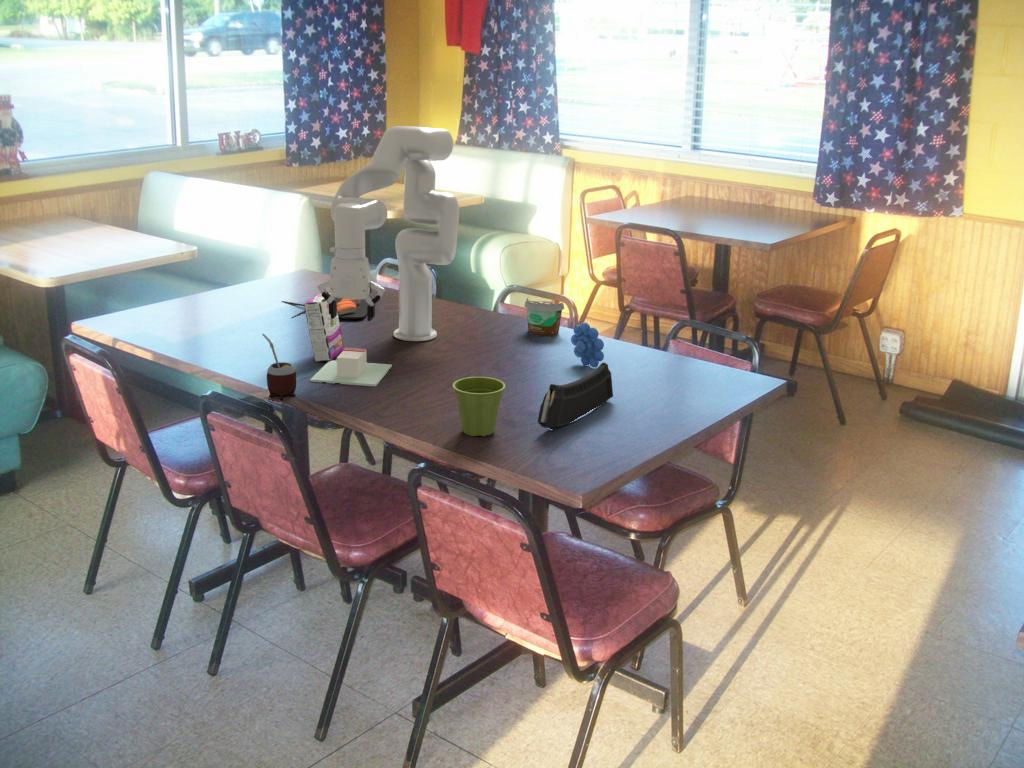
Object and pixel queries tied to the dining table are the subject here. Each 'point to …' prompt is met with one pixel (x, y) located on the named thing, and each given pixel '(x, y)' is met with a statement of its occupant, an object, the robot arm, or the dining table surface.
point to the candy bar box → (323, 329)
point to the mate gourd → (280, 377)
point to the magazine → (575, 398)
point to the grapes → (587, 344)
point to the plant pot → (478, 404)
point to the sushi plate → (346, 308)
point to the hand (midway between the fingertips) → (352, 318)
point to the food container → (543, 317)
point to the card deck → (351, 362)
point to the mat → (367, 378)
